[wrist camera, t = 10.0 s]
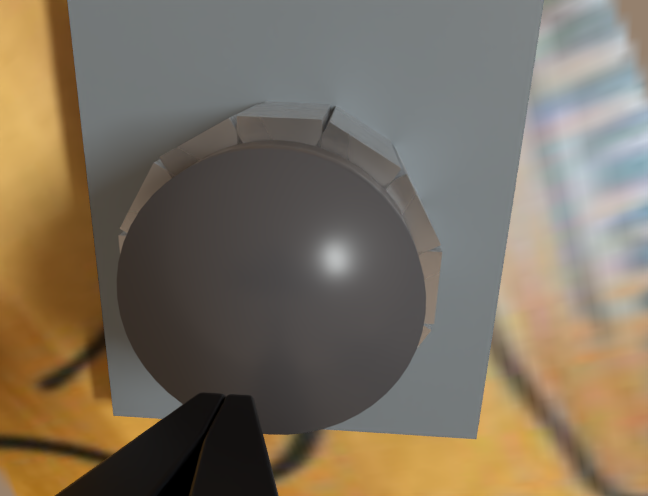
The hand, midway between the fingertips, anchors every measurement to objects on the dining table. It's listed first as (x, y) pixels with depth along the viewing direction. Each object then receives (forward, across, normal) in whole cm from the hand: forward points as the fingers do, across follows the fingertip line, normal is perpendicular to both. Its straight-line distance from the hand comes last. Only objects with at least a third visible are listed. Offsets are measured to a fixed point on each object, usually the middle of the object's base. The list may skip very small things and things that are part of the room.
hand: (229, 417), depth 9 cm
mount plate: (+12, 0, 0) cm, 12 cm away
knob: (+9, 0, 0) cm, 9 cm away
